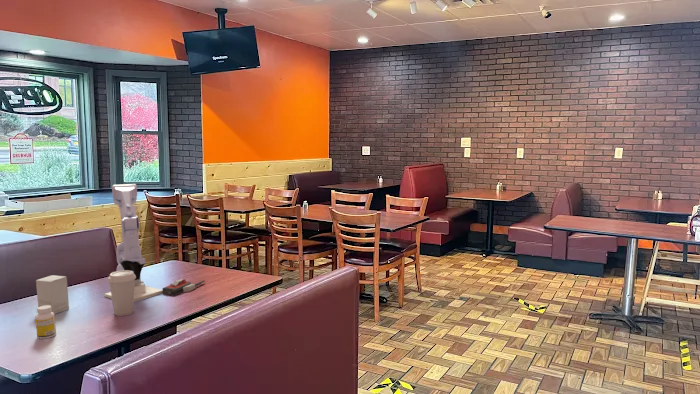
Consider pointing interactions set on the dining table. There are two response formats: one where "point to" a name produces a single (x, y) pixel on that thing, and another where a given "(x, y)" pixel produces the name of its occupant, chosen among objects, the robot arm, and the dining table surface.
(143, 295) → the jack stand base
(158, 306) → the dining table surface
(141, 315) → the dining table surface
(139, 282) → the column
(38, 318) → the supplement bottle
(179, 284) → the walkie-talkie
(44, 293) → the supplement box
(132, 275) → the coffee cup
